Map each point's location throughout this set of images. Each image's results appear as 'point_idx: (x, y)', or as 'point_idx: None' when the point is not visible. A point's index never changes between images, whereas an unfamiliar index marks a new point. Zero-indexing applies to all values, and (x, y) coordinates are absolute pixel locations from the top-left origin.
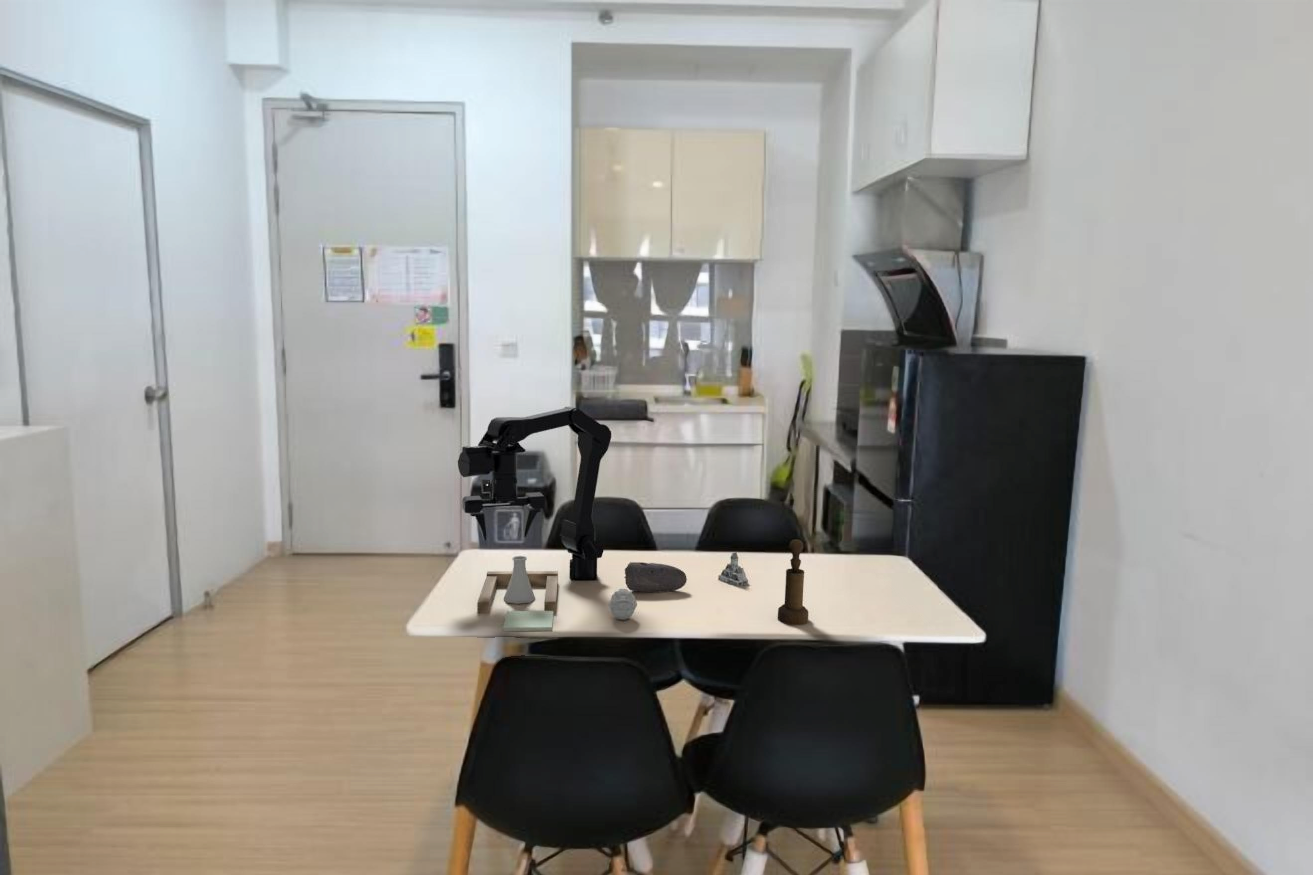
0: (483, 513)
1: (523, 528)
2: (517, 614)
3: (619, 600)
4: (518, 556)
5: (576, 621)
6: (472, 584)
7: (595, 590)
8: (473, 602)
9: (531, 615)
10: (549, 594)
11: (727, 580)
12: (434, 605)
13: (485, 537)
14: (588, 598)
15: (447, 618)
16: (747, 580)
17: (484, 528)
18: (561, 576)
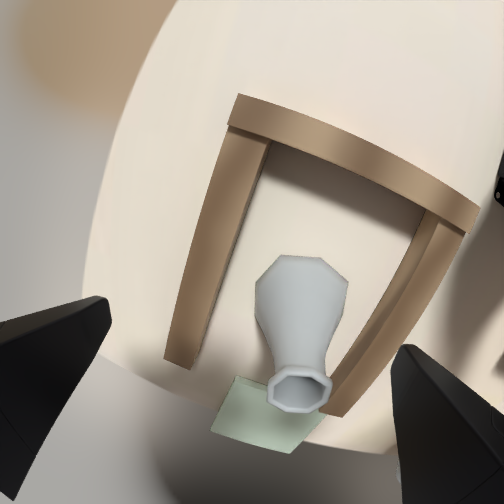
0: (5, 494)
1: (423, 387)
2: (251, 402)
3: (399, 482)
4: (303, 375)
5: (348, 434)
6: (197, 97)
7: (491, 300)
8: (171, 269)
9: (277, 414)
10: (356, 380)
11: None
12: (89, 251)
13: (97, 343)
14: (449, 346)
15: (117, 337)
16: None
17: (57, 403)
18: (486, 144)
